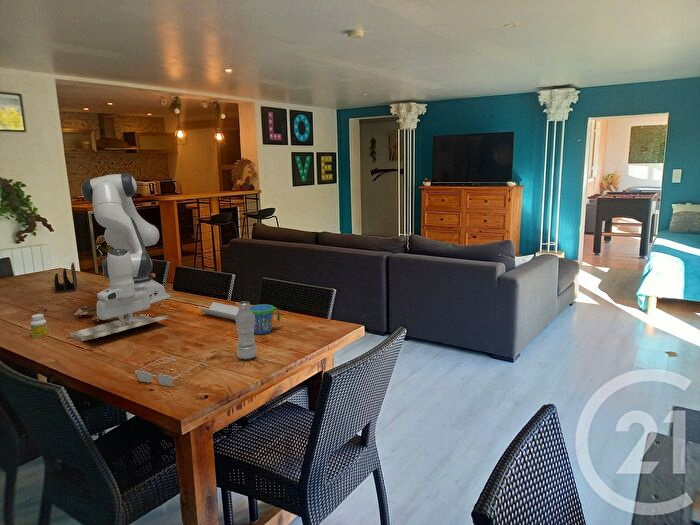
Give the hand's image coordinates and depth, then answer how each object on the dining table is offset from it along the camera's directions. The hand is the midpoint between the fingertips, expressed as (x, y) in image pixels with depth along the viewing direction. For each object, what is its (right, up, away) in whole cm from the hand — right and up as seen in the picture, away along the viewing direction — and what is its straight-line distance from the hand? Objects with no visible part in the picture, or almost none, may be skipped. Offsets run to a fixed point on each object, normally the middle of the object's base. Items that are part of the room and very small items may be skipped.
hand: (126, 324), depth 195 cm
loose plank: (0, -2, +1) cm, 2 cm away
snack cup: (+53, -4, +4) cm, 53 cm away
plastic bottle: (+53, -9, -24) cm, 59 cm away
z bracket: (+35, 0, +25) cm, 43 cm away
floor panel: (-3, -4, +4) cm, 7 cm away
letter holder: (-71, +9, +83) cm, 110 cm away
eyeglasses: (+31, -12, -35) cm, 48 cm away
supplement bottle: (-34, -6, 0) cm, 34 cm away
